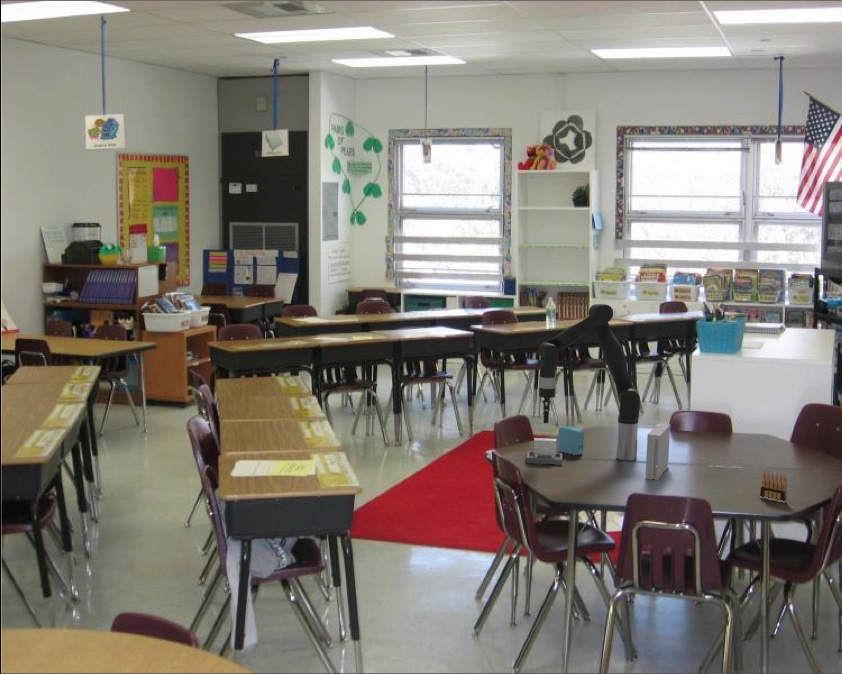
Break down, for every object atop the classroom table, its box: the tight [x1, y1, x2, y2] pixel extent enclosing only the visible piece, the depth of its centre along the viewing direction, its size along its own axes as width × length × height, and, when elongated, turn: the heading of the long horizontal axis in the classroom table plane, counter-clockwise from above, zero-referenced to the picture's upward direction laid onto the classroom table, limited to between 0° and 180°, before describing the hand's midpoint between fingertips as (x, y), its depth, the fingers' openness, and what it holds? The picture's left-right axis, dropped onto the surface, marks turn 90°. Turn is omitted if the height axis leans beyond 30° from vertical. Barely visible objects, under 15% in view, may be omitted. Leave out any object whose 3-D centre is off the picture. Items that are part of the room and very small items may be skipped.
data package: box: [557, 426, 585, 456], centre depth 535 cm, size 12×4×12 cm, turn 43°
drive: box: [533, 437, 557, 459], centre depth 517 cm, size 10×4×9 cm, turn 82°
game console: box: [644, 422, 671, 481], centre depth 500 cm, size 6×27×20 cm, turn 158°
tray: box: [526, 451, 563, 466], centre depth 518 cm, size 16×13×4 cm
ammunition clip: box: [759, 469, 788, 501], centre depth 459 cm, size 11×2×12 cm, turn 49°
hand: (546, 421), depth 516 cm, fingers open, 8 cm apart
